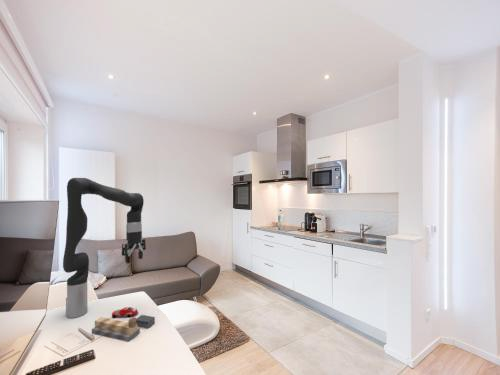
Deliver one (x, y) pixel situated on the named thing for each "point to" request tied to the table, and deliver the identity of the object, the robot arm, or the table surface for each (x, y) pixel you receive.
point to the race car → (125, 312)
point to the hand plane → (116, 328)
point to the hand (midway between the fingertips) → (134, 260)
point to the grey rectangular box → (145, 321)
